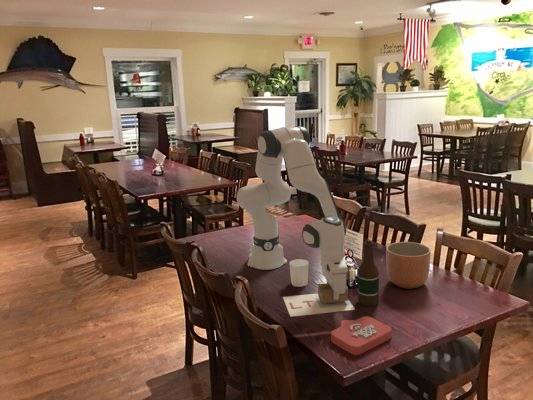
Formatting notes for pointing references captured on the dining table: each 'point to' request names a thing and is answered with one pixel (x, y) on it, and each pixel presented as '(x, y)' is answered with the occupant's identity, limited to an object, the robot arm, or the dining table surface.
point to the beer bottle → (368, 278)
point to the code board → (313, 305)
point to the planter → (408, 264)
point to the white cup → (299, 272)
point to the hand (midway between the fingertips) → (332, 294)
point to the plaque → (360, 335)
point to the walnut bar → (330, 294)
